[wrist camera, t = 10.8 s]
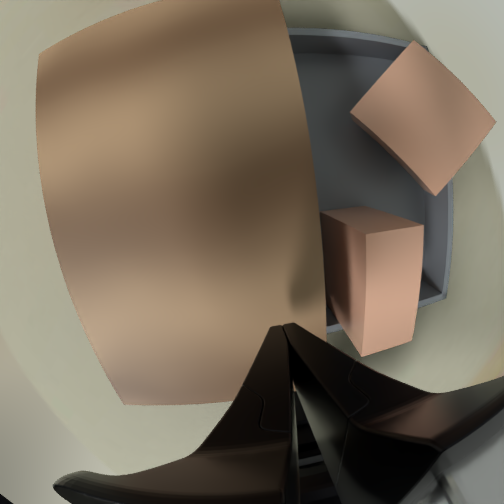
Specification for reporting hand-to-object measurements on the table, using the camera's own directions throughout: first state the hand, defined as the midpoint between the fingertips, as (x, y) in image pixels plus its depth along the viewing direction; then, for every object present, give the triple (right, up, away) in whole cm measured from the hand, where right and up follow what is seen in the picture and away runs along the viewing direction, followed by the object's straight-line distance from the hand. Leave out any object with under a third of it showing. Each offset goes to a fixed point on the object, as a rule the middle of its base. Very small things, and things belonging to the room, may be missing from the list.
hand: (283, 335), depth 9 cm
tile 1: (+4, +2, +5) cm, 6 cm away
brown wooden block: (-4, +6, +6) cm, 10 cm away
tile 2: (+8, +10, +1) cm, 12 cm away
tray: (+6, +8, +6) cm, 12 cm away
